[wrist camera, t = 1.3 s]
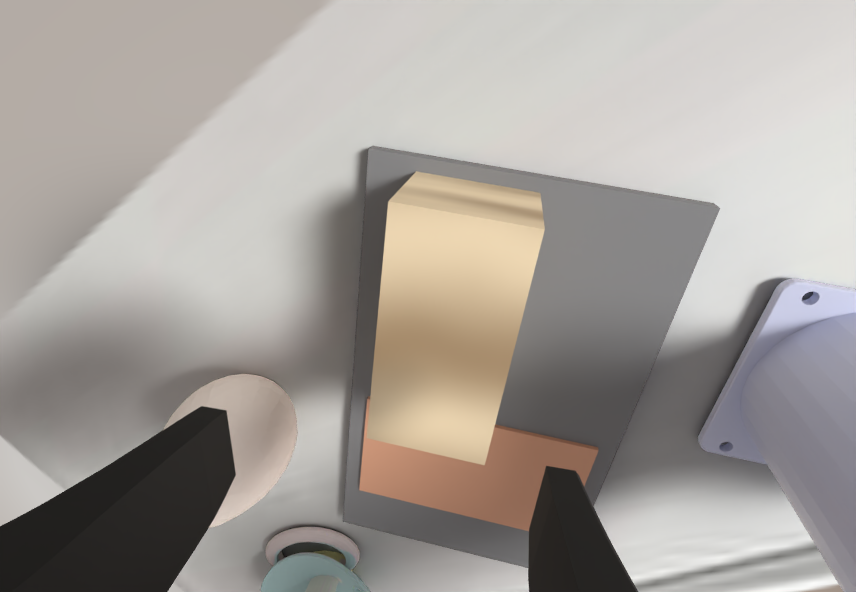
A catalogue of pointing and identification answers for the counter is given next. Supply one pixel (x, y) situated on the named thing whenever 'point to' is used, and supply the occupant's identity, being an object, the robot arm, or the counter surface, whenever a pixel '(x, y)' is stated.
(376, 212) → the rubber mat
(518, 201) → the tan wooden block
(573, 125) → the counter surface
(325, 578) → the pacifier
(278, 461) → the egg
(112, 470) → the robot arm
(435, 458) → the terracotta strip
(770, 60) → the counter surface
